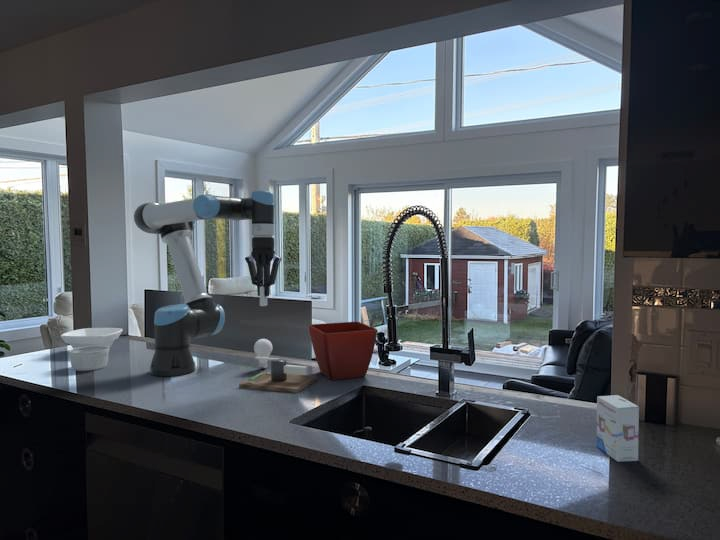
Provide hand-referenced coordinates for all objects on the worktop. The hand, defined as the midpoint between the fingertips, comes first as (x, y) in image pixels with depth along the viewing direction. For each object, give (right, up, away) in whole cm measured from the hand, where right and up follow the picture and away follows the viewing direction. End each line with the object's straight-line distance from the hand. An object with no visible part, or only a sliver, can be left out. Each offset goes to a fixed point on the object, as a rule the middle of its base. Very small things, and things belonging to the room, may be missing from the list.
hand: (263, 305), depth 175 cm
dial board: (+7, -25, -8) cm, 27 cm away
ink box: (+89, -28, -63) cm, 113 cm away
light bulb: (-2, -24, +11) cm, 27 cm away
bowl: (-79, -23, +40) cm, 92 cm away
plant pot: (+27, -25, +4) cm, 37 cm away
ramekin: (-66, -24, +13) cm, 72 cm away
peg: (+7, -23, -8) cm, 26 cm away
